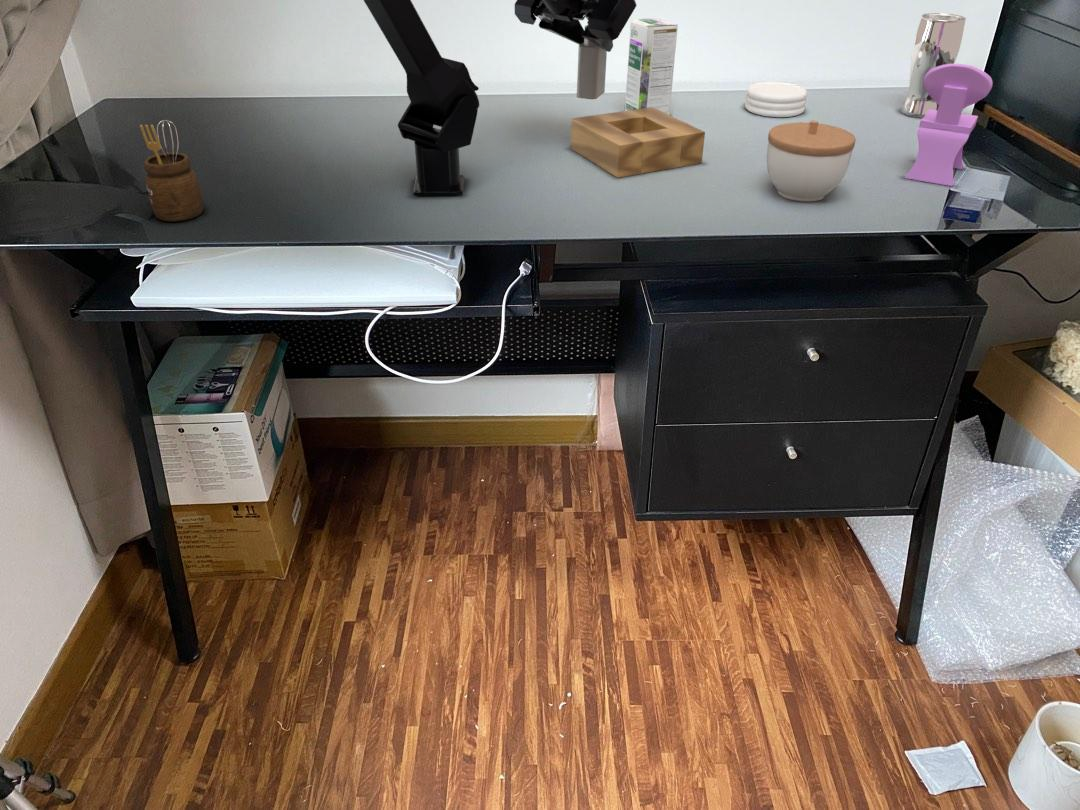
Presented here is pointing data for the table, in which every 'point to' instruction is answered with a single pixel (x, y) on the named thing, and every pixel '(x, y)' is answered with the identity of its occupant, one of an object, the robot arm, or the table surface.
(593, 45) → the power adapter
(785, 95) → the white layered disc
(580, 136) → the block
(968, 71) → the chair
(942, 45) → the silver tumbler
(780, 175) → the trinket box
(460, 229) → the table surface
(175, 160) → the utensil holder
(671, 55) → the syrup box
